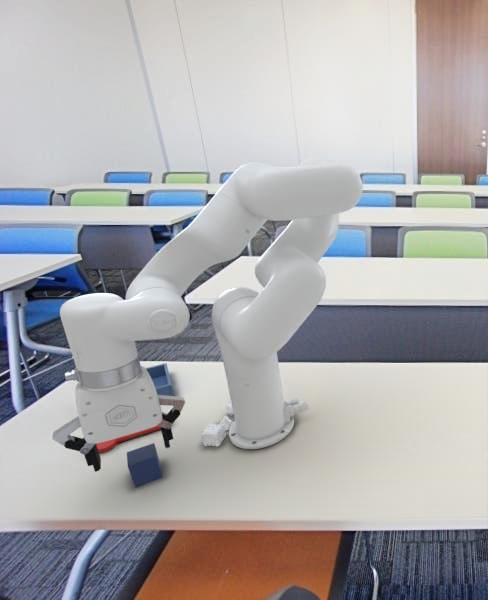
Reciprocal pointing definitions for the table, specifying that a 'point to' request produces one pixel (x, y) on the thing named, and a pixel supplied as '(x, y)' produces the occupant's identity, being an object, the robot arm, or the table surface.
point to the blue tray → (161, 379)
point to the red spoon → (122, 439)
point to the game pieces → (217, 429)
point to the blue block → (144, 465)
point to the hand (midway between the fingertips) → (134, 454)
